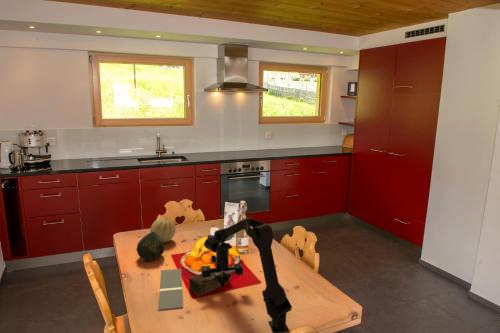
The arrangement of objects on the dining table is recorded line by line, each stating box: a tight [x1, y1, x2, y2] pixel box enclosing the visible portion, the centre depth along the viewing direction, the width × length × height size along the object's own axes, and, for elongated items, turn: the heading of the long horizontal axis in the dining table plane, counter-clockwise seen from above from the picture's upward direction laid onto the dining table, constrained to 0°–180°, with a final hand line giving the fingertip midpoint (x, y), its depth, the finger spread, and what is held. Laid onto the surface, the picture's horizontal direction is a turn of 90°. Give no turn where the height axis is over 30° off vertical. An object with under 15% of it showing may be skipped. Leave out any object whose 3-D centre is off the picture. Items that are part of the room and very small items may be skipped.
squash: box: [136, 232, 165, 262], centre depth 187 cm, size 14×15×15 cm
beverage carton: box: [188, 272, 231, 298], centre depth 160 cm, size 8×19×7 cm, turn 134°
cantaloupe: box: [149, 217, 176, 244], centre depth 208 cm, size 15×15×15 cm
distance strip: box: [157, 268, 184, 311], centre depth 158 cm, size 34×10×1 cm, turn 13°
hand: (221, 287), depth 157 cm, fingers closed
